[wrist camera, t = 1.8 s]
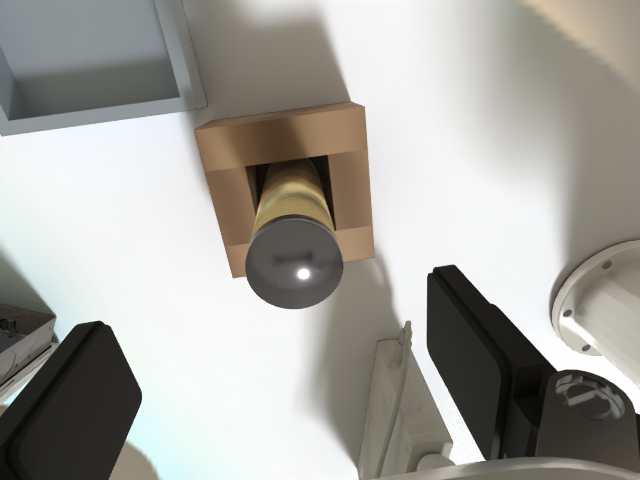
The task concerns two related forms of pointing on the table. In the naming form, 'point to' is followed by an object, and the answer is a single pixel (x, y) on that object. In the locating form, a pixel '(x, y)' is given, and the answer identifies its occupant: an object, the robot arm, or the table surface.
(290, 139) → the brown square frame
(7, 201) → the table surface
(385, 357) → the geiger counter
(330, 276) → the brass pin
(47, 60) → the parts tray
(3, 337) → the electrical switch
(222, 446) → the table surface
